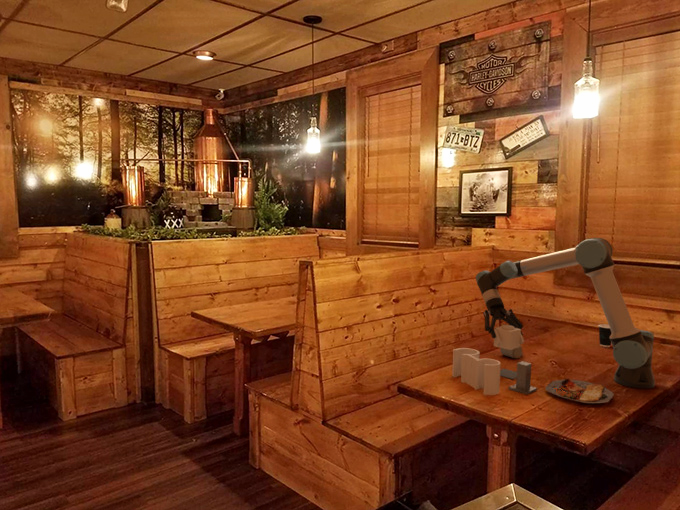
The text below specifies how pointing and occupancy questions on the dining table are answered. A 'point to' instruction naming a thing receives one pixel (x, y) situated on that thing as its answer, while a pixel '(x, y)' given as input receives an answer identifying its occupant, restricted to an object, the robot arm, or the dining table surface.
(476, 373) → the bracket
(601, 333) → the dixie cup
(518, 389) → the post
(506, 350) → the ceramic mug
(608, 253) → the robot arm
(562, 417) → the dining table surface
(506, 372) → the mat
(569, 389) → the food plate
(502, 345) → the beige block piece
